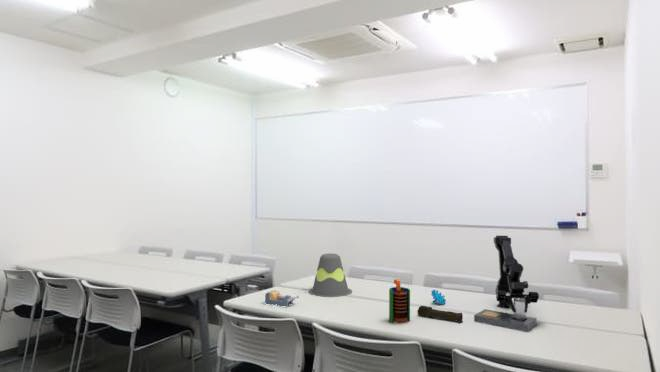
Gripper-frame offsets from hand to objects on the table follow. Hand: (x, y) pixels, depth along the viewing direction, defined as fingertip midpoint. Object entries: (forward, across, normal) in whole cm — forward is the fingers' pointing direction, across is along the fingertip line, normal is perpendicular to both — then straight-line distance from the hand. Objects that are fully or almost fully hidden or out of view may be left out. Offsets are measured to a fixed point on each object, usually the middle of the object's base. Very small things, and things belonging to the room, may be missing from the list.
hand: (520, 312), depth 204 cm
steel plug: (+4, 0, +6) cm, 7 cm away
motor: (+6, -57, +4) cm, 58 cm away
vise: (-8, -124, +18) cm, 126 cm away
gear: (-20, -36, +30) cm, 50 cm away
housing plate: (+2, -6, +7) cm, 10 cm away
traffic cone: (-32, -102, +42) cm, 115 cm away
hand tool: (+2, -37, +8) cm, 38 cm away
